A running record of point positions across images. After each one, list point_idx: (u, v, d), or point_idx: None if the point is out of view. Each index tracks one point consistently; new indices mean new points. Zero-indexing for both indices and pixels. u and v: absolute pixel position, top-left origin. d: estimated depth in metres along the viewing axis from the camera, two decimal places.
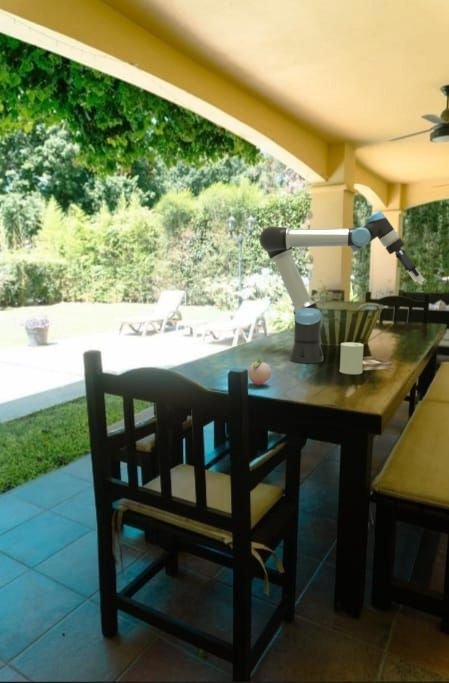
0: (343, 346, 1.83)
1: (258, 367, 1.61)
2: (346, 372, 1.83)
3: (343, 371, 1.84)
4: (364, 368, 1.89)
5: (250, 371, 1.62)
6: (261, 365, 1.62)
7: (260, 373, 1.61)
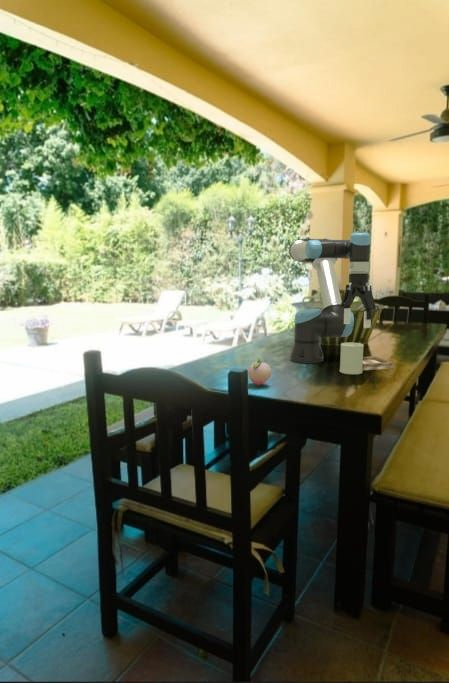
0: (343, 346, 1.83)
1: (258, 367, 1.61)
2: (346, 372, 1.83)
3: (343, 371, 1.84)
4: (364, 368, 1.89)
5: (250, 371, 1.62)
6: (261, 365, 1.62)
7: (260, 373, 1.61)
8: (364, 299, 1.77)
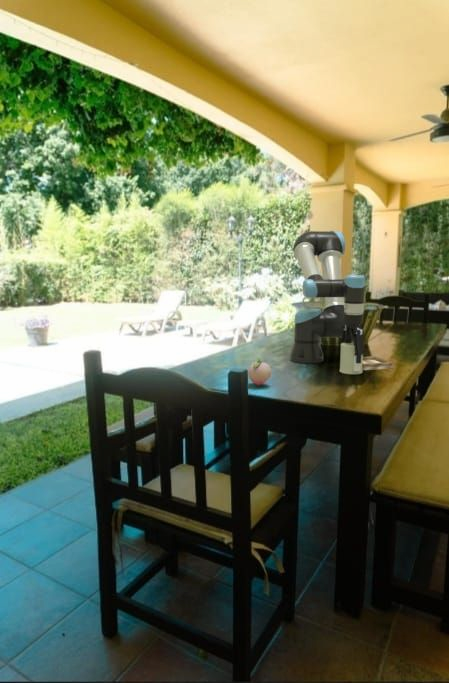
0: (343, 346, 1.83)
1: (258, 367, 1.61)
2: (346, 372, 1.83)
3: (343, 371, 1.84)
4: (364, 368, 1.89)
5: (250, 371, 1.62)
6: (261, 365, 1.62)
7: (260, 373, 1.61)
8: (356, 342, 1.80)
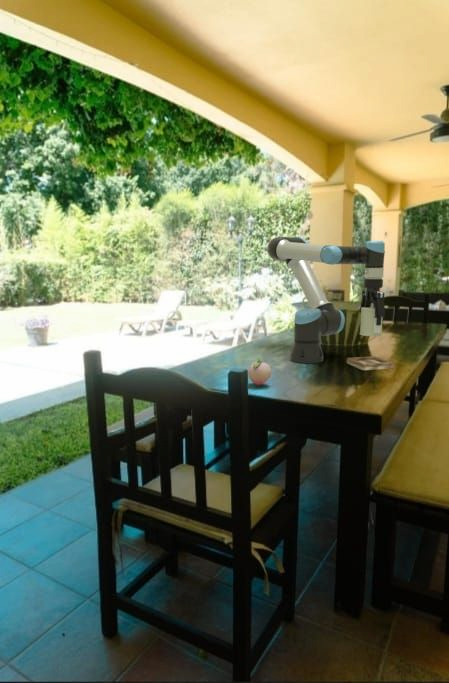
0: (364, 309, 1.91)
1: (258, 367, 1.61)
2: (366, 334, 1.91)
3: (363, 333, 1.92)
4: (364, 368, 1.89)
5: (250, 371, 1.62)
6: (261, 365, 1.62)
7: (260, 373, 1.61)
8: (376, 305, 1.89)
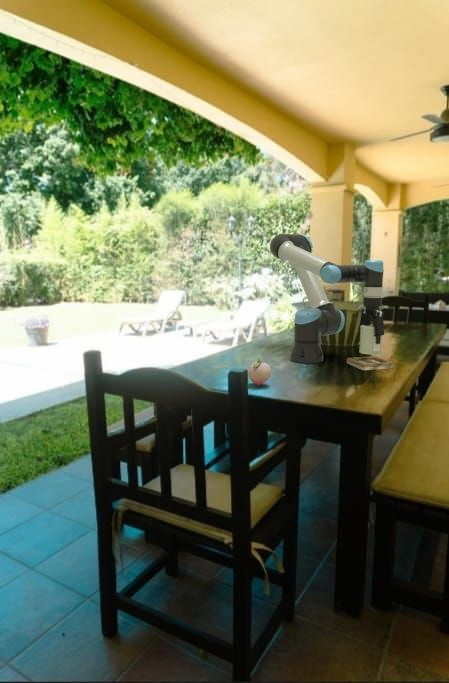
0: (363, 328, 1.93)
1: (258, 367, 1.61)
2: (366, 352, 1.93)
3: (363, 352, 1.94)
4: (364, 368, 1.89)
5: (250, 371, 1.62)
6: (261, 365, 1.62)
7: (260, 373, 1.61)
8: (375, 324, 1.90)
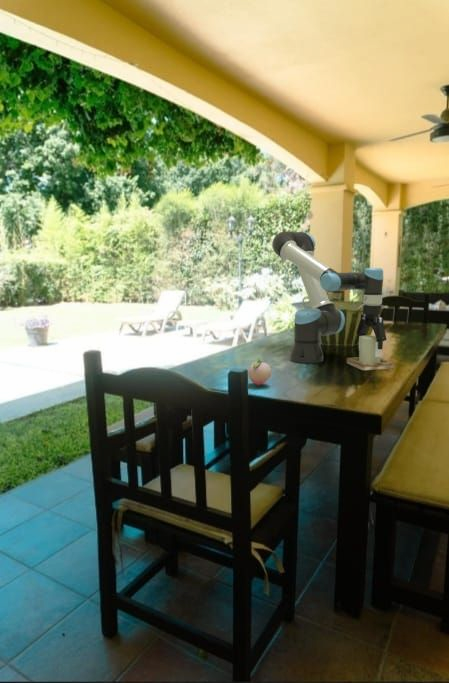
0: (362, 338, 1.93)
1: (258, 367, 1.61)
2: (365, 363, 1.94)
3: (362, 362, 1.95)
4: (364, 368, 1.89)
5: (250, 371, 1.62)
6: (261, 365, 1.62)
7: (260, 373, 1.61)
8: (376, 330, 1.89)
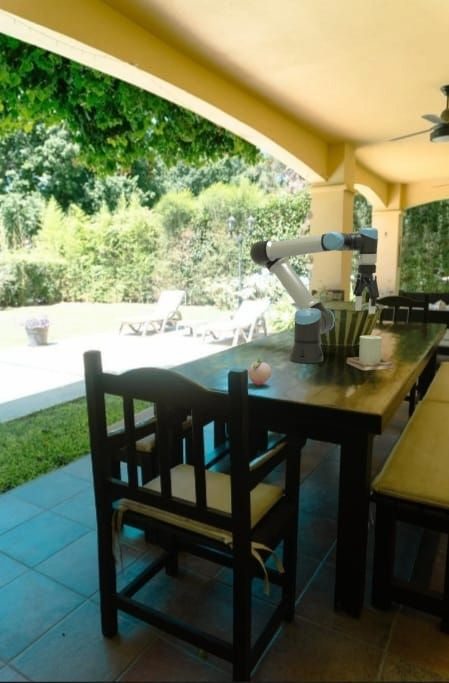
0: (362, 338, 1.93)
1: (258, 367, 1.61)
2: (365, 363, 1.94)
3: (362, 362, 1.95)
4: (364, 368, 1.89)
5: (250, 371, 1.62)
6: (261, 365, 1.62)
7: (260, 373, 1.61)
8: (370, 288, 1.97)
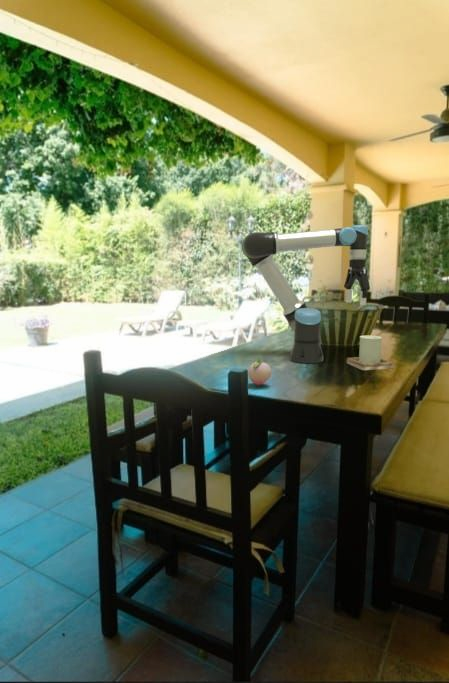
0: (362, 338, 1.93)
1: (258, 367, 1.61)
2: (365, 363, 1.94)
3: (362, 362, 1.95)
4: (364, 368, 1.89)
5: (250, 371, 1.62)
6: (261, 365, 1.62)
7: (260, 373, 1.61)
8: (361, 281, 2.11)
